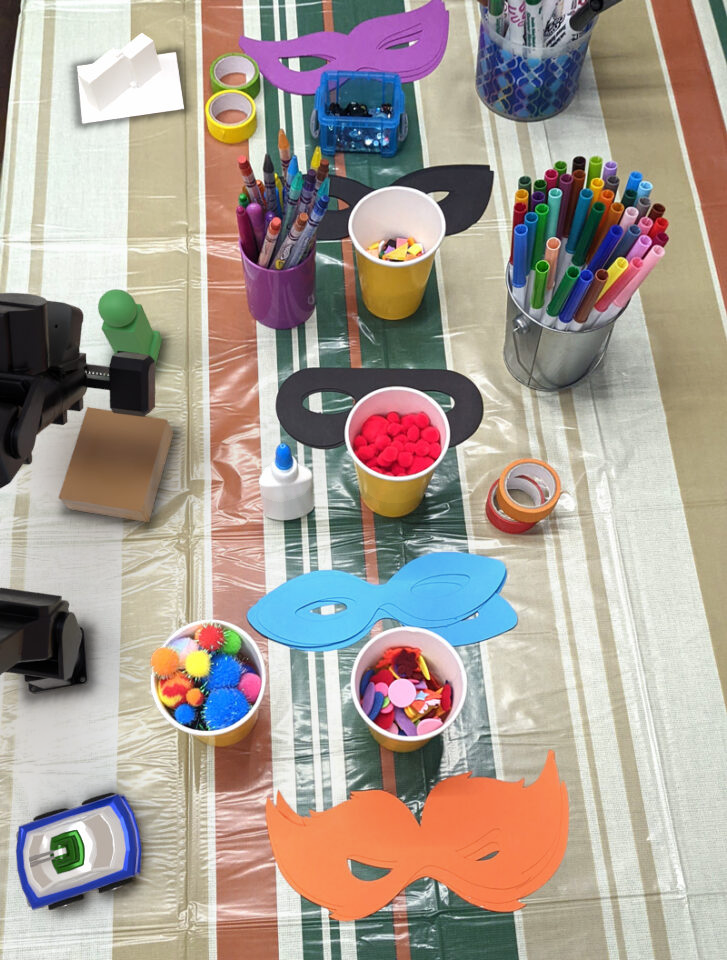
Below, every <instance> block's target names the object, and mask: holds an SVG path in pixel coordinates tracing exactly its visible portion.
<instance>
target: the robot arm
mask: <svg viewBox="0 0 727 960" xmlns="http://www.w3.org/2000/svg"><path fill="white" fill-rule="evenodd" d="M83 322H84V312H83V311H82V309H81V308H80V307H77V306H75V305H72V304H69V303H66V302H62V301H54V300H53V301H52V300H47V299H46V297H43V296H40V295H36V294H31V293H22V292H0V489H3V488H4V487H6V486H8V485H9V484H11V482H12V481H13V480H14V478H15V477H16V475H17V474H18V473H19V471H20V469H21V468H22V467H23V466H24V465H25V466H29V465H31V464H32V463H33V451H34V448H35V444H36V439H37V436H38V435H39V434H40V433H41V432H43V431H44V430H46V428H48V427H49V426H50V425H57V426H65V425H66V424H67V423H68V422H69V421H68V419H69V418H68V411H70V412H71V411H72V412H73V411H74V412H82V411H83V410H84V396H85V395H86V393H87V390H88V388H89V389H97V390H104V391H109V408H110V411H112V412H113V413H117V414H125V415H133V416H141V417H145V416H148V415H149V414H150V413H151V412H152V411H153V410H154V409H155V408H156V366H155V360H154V359H153V358H152V357H151V356H150V355H146V354H140V353H133V352H125V351H117V353H115V354H114V353H113V355H111V358H110V363H109V365H105V364H96V363H87V353H86V352H81V350H80V347H81V338H82V329H83V328H82V327H83ZM69 607H70V602H69V600H66V599H63V596H62V595H59V594H58V595H57V594H51V593H43V592H36V591H29V590H23V589H14V588H7V587H0V676H1V675H3V674H4V673H10V674H16V675H23V676H24V681H25V683H27V684H28V691H29V692H30V693H31V694H38V693H43V692H49V691H55V690H60V689H67V688H70V687H71V688H72V687H78V686H83V685H86V684H87V683H88V681H89V672H88V670H89V669H88V656H87V655H88V654H87V641H86V630H85V628H84V627H81V626H80V625H79V622H78V619H77V616H76V614H75V613H74V612H73V611H69ZM82 679H84V680H83V681H82ZM34 687H35V688H34ZM33 688H34V690H33Z"/></svg>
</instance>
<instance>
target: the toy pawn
mask: <svg viewBox="0 0 727 960" xmlns="http://www.w3.org/2000/svg"><path fill="white" fill-rule="evenodd" d="M97 310H98V314H99V316H100V318H101V319H102V326H101V330H102V332H103V334H104V336H105V338H106V340H107V342H108V343H109V346H110V348H111V349H112V351H113V355H114V354H115V353H117V351H125V352H133V353H140V354H146V355H150V356H151V357H152V358H153V359H154V360H155V367H156V366H157V362H158V357H159V353H160V349H161V345H162V342H163V337H162V336H161V333H160V331H159V330H153V328H152V326H151V324H150V321H149V319H148V316H147V314H146V312H145V309H144V308H143V305H142V304H140V303H137V302H136V300H135V299H134V297H133V296H132V295H131V293H129V292H128V291H126V290H123V289H116V288H114V289H110V290H107V291H106V292H105V293H103V294H102V295H101V296H100V298H99V300H98V304H97Z"/></svg>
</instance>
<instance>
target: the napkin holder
mask: <svg viewBox="0 0 727 960" xmlns="http://www.w3.org/2000/svg"><path fill="white" fill-rule="evenodd" d="M177 57H178V56H177V52H176V51H175V52H167V53H160V54H158V53H157V49H156V46H155V42H154V40H153V39H152V38H150V37H149V36H147V35H146V34H145V33H143V32H141V33H139V34H138V35H137V36H135V37H134V38H133V39H132V40H130V41H129V42H128V43H127V44H126V45H124V46H123V47H122V48H121V49H117V48H115V47H114V46H113V47H112V48H110V49H109V50H108V51H107V52H105V53H104V54H103V55H102V56H100V57H99V58H98V59H96V60H95V61H94V62H93V63H89V64H81V65H76V69H77V70H76V71H77V80H78V91H79V93H78V94H79V104H80V115H81V123H82V125H83V124H90V123H96V122H104V121H109V120H117V119H118V120H119V119H123V118H124V119H125V118H129V117H130V118H131V117H138V116H144V115H152V114H159V113H165V112H172V111H178V110H179V111H180V110H185V107H184V99H183V93H182V85H181V79H180V71H179V64H178V58H177Z"/></svg>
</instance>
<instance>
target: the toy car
mask: <svg viewBox="0 0 727 960" xmlns="http://www.w3.org/2000/svg"><path fill="white" fill-rule="evenodd" d="M17 829H18V831H16V834H15V835H16V846H15V856H16V869H17V874H18V878H19V882H20V887H21V890H22V892H23V894H24V896H25V899H26V903H27V906H28V907H29V908H30V909H31V910H32V911H35V910H39V909H43V908H45V907H48V911H53V910H56V909H59V908H60V909H61V908H65V907H67V906H70V905H72V904H73V905H74V904H75V903H77V902H79V901H82V900H84V899H85V893H89V892H92V891H94V890H97V892H98V894H103V893H106V892H108V891H109V892H110V891H114V890H118V889H120V888H123V887H124V886H127V885H129V884H132V883H133V882H134V877H137V876H140V875H141V871H142V854H143V847H142V842H141V834H140V829H139V825H138V822H137V818H136V814H135V812H134V810H133V809H132V807H131V805H130V803H129V801H128V800H127V798H126V795H125V794H123V793H116V792H109V793H104V794H100V795H97V796H94V797H91V798H87V799H86V800H83V801H82V802H81V805H79V806H76V807H73V808H70V809H68V808H67V807H66V808H64V807H63V808H58V809H55V810H51V811H47V812H45V813H41V814H39V815H36V816H35V817H33V819H32V821H30V822H26V823H24V824H20V825H19V826H18V828H17Z"/></svg>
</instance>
